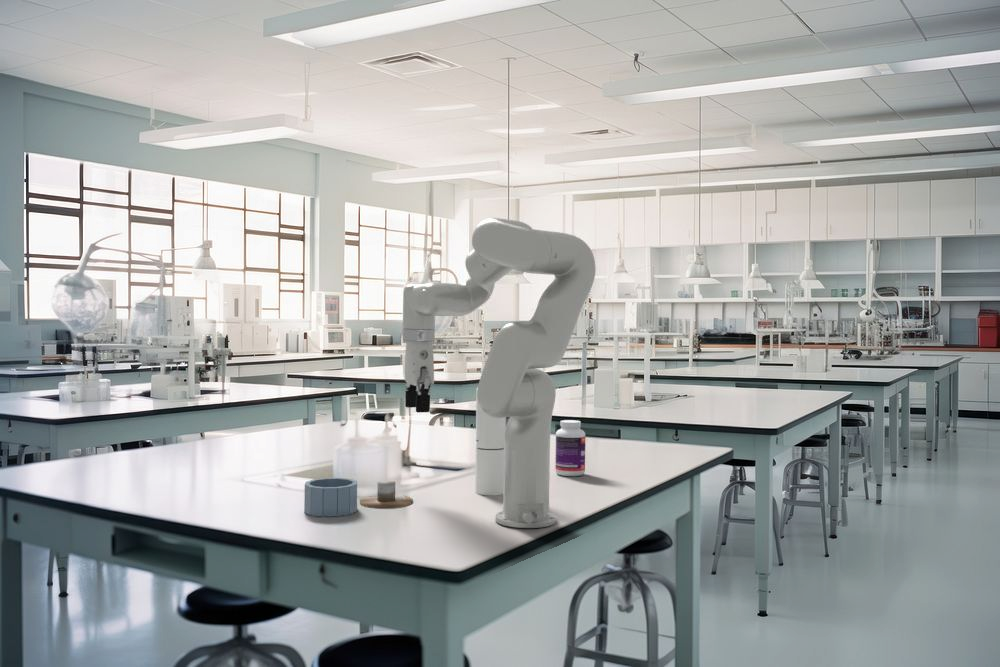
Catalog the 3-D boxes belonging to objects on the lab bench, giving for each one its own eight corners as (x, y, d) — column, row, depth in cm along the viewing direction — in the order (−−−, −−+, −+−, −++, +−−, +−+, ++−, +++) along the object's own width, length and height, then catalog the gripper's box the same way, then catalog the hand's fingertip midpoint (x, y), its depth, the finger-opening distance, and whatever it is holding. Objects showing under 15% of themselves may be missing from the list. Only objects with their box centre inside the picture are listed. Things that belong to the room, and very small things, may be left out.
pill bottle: (586, 477, 218) (587, 423, 217) (556, 477, 218) (557, 423, 217) (583, 471, 226) (584, 419, 225) (554, 471, 226) (554, 419, 225)
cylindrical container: (498, 488, 202) (499, 387, 202) (509, 494, 196) (510, 389, 195) (471, 490, 200) (472, 387, 199) (481, 496, 193) (482, 390, 193)
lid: (414, 509, 181) (414, 487, 181) (359, 510, 179) (359, 488, 179) (411, 497, 193) (411, 476, 193) (359, 498, 191) (359, 477, 191)
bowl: (356, 516, 172) (357, 487, 172) (303, 517, 171) (303, 488, 170) (357, 504, 183) (357, 477, 183) (306, 505, 181) (306, 478, 181)
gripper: (444, 338, 186) (443, 413, 186) (424, 335, 202) (423, 405, 203) (412, 338, 183) (410, 414, 184) (394, 335, 199) (393, 405, 200)
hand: (417, 409), depth 193 cm, fingers open, 9 cm apart
